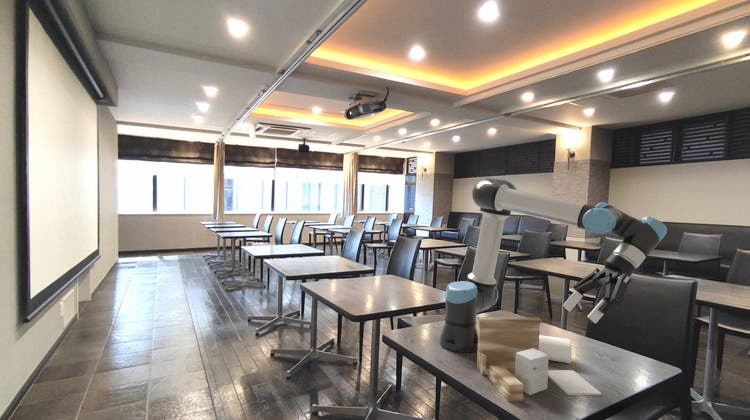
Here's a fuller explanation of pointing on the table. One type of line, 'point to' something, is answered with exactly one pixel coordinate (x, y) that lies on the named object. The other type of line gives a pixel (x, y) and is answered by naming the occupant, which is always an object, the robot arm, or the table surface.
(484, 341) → the birch rack
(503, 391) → the lower pine offcut
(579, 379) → the white flat plate
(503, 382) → the upper pine offcut
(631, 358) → the table surface
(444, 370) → the table surface
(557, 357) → the white rounded block
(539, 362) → the small box
